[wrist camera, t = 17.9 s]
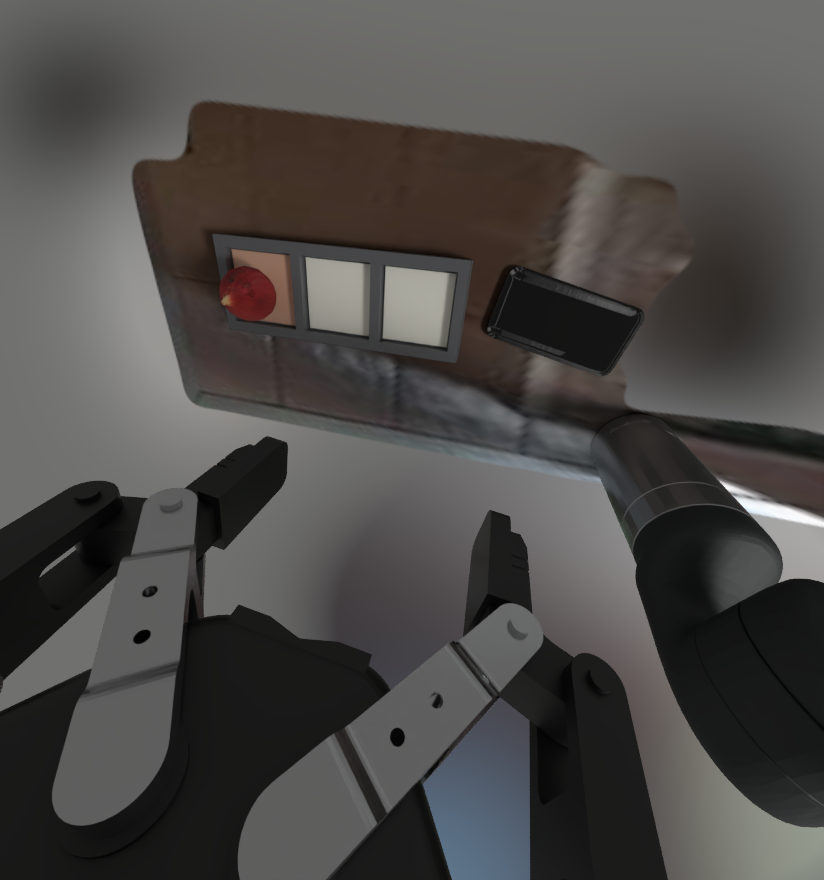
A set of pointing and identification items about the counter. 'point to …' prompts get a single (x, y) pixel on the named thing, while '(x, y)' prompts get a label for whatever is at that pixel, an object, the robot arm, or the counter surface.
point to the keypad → (364, 297)
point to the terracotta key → (272, 280)
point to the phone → (563, 321)
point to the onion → (247, 293)
